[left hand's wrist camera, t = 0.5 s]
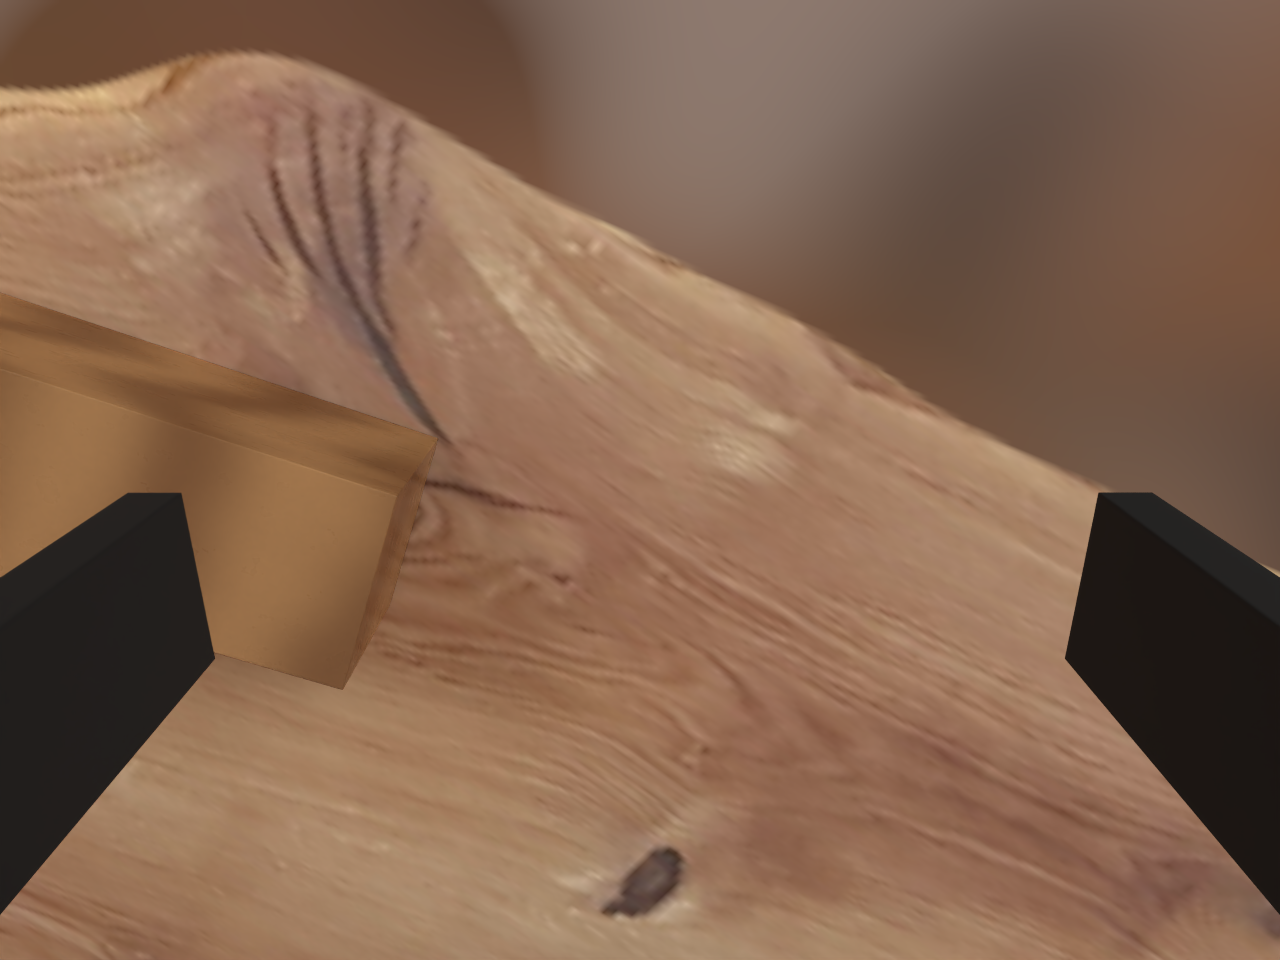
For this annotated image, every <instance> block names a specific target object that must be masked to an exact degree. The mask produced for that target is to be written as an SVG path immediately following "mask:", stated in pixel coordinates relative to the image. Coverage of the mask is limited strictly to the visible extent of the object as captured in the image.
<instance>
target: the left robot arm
mask: <svg viewBox="0 0 1280 960" xmlns="http://www.w3.org/2000/svg"><path fill="white" fill-rule="evenodd" d="M214 659H215V656H214V651H213V646H212V641H211V636H210V631H209V626H208V621H207V616H206V611H205V606H204V601H203V597H202V592H201V587H200V582H199V577H198V572H197V567H196V562H195V557H194V552H193V547H192V542H191V537H190V532H189V528H188V523H187V518H186V513H185V508H184V503H183V498H182V493H127V494H125V495H124V496H122V497H121V498H119V499H118V500H116V501H115V502H113V503H112V504H110V505H109V506H107V507H106V508H104V509H103V510H101V511H100V512H98V513H97V514H95V515H94V516H92V517H90V518H89V519H87V520H86V521H84V522H83V523H81V524H80V525H78V526H77V527H75V528H74V529H72V530H71V531H69V532H68V533H66V534H65V535H63V536H62V537H60V538H59V539H57V540H56V541H54V542H53V543H51V544H50V545H48V546H47V547H45V548H44V549H42V550H41V551H39V552H38V553H36V554H35V555H33V556H32V557H30V558H29V559H27V560H26V561H24V562H23V563H21V564H20V565H18V566H17V567H15V568H14V569H12V570H11V571H9V572H8V573H6V574H5V575H3V576H2V577H0V914H1V913H2V912H3V911H4V910H5V908H6V907H7V906H8V905H9V904H10V902H11V901H12V900H13V899H14V898H15V896H16V895H17V894H18V893H19V892H20V890H21V889H22V888H23V887H24V886H25V885H26V883H27V882H28V881H29V880H30V879H31V877H32V876H33V875H34V874H35V873H36V871H37V870H38V869H39V868H40V867H41V865H42V864H43V863H44V862H45V861H46V859H47V858H48V857H49V856H50V855H51V854H52V852H53V851H54V850H55V849H56V848H57V846H58V845H59V844H60V843H61V842H62V840H63V839H64V838H65V837H66V836H67V834H68V833H69V832H70V831H71V830H72V829H73V827H74V826H75V825H76V824H77V823H78V821H79V820H80V819H81V818H82V817H83V815H84V814H85V813H86V812H87V811H88V809H89V808H90V807H91V806H92V805H93V803H94V802H95V801H96V800H97V799H98V798H99V796H100V795H101V794H102V793H103V792H104V790H105V789H106V788H107V787H108V786H109V784H110V783H111V782H112V781H113V780H114V778H115V777H116V776H117V775H118V774H119V773H120V771H121V770H122V769H123V768H124V767H125V765H126V764H127V763H128V762H129V761H130V759H131V758H132V757H133V756H134V755H135V753H136V752H137V751H138V750H139V749H140V747H141V746H142V745H143V744H144V743H145V742H146V740H147V739H148V738H149V737H150V736H151V734H152V733H153V732H154V731H155V730H156V728H157V727H158V726H159V725H160V724H161V722H162V721H163V720H164V719H165V718H166V716H167V715H168V714H169V713H170V712H171V711H172V709H173V708H174V707H175V706H176V705H177V703H178V702H179V701H180V700H181V699H182V697H183V696H184V695H185V694H186V693H187V691H188V690H189V689H190V688H191V687H192V686H193V684H194V683H195V682H196V681H197V680H198V678H199V677H200V676H201V675H202V674H203V672H204V671H205V670H206V669H207V668H208V666H209V665H210V664H211V663H212V662H213V660H214ZM1065 659H1066V660H1067V662H1068V663H1069V664H1070V665H1071V666H1072V668H1073V669H1074V670H1075V671H1076V672H1077V674H1078V675H1079V676H1080V677H1081V678H1082V680H1083V681H1084V682H1085V683H1086V684H1087V686H1088V687H1089V688H1090V689H1091V690H1092V691H1093V693H1094V694H1095V695H1096V696H1097V697H1098V699H1099V700H1100V701H1101V702H1102V703H1103V705H1104V706H1105V707H1106V708H1107V709H1108V711H1109V712H1110V713H1111V714H1112V715H1113V716H1114V718H1115V719H1116V720H1117V721H1118V722H1119V724H1120V725H1121V726H1122V727H1123V728H1124V730H1125V731H1126V732H1127V733H1128V734H1129V736H1130V737H1131V738H1132V739H1133V740H1134V742H1135V743H1136V744H1137V745H1138V746H1139V747H1140V749H1141V750H1142V751H1143V752H1144V753H1145V755H1146V756H1147V757H1148V758H1149V759H1150V761H1151V762H1152V763H1153V764H1154V765H1155V767H1156V768H1157V769H1158V770H1159V771H1160V773H1161V774H1162V775H1163V776H1164V777H1165V778H1166V780H1167V781H1168V782H1169V783H1170V784H1171V786H1172V787H1173V788H1174V789H1175V790H1176V792H1177V793H1178V794H1179V795H1180V796H1181V798H1182V799H1183V800H1184V801H1185V802H1186V803H1187V805H1188V806H1189V807H1190V808H1191V809H1192V811H1193V812H1194V813H1195V814H1196V815H1197V817H1198V818H1199V819H1200V820H1201V821H1202V823H1203V824H1204V825H1205V826H1206V827H1207V829H1208V830H1209V831H1210V832H1211V833H1212V834H1213V836H1214V837H1215V838H1216V839H1217V840H1218V842H1219V843H1220V844H1221V845H1222V846H1223V848H1224V849H1225V850H1226V851H1227V852H1228V854H1229V855H1230V856H1231V857H1232V858H1233V860H1234V861H1235V862H1236V863H1237V864H1238V865H1239V867H1240V868H1241V869H1242V870H1243V871H1244V873H1245V874H1246V875H1247V876H1248V877H1249V879H1250V880H1251V881H1252V882H1253V883H1254V885H1255V886H1256V887H1257V888H1258V889H1259V890H1260V892H1261V893H1262V894H1263V895H1264V896H1265V898H1266V899H1267V900H1268V901H1269V902H1270V904H1271V905H1272V906H1273V907H1274V908H1275V910H1276V911H1277V912H1278V913H1279V914H1280V577H1278V576H1277V575H1275V574H1274V573H1272V572H1271V571H1269V570H1268V569H1266V568H1265V567H1263V566H1262V565H1260V564H1259V563H1257V562H1256V561H1254V560H1253V559H1251V558H1250V557H1248V556H1247V555H1245V554H1244V553H1242V552H1241V551H1239V550H1238V549H1236V548H1235V547H1233V546H1232V545H1230V544H1229V543H1227V542H1226V541H1224V540H1223V539H1221V538H1220V537H1218V536H1217V535H1215V534H1214V533H1212V532H1211V531H1209V530H1207V529H1206V528H1205V527H1203V526H1202V525H1200V524H1199V523H1197V522H1195V521H1194V520H1192V519H1191V518H1190V517H1188V516H1186V515H1185V514H1183V513H1182V512H1180V511H1179V510H1177V509H1176V508H1174V507H1173V506H1171V505H1170V504H1168V503H1167V502H1165V501H1164V500H1162V499H1161V498H1159V497H1158V496H1156V495H1155V494H1153V493H1098V498H1097V503H1096V508H1095V513H1094V518H1093V523H1092V528H1091V532H1090V537H1089V542H1088V547H1087V552H1086V557H1085V562H1084V567H1083V572H1082V577H1081V582H1080V587H1079V592H1078V597H1077V601H1076V606H1075V611H1074V616H1073V621H1072V626H1071V631H1070V636H1069V641H1068V646H1067V651H1066V656H1065Z"/></svg>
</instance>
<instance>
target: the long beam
mask: <svg viewBox="0 0 1280 960" xmlns="http://www.w3.org/2000/svg"><path fill="white" fill-rule="evenodd" d="M437 441H438V438H435V437H432V436H429V435H426V434H423V433H420V432H417V431H414V430H411V429H408V428H405V427H402V426H399V425H396V424H393V423H390V422H387V421H384V420H381V419H378V418H375V417H372V416H369V415H366V414H363V413H360V412H357V411H354V410H351V409H348V408H345V407H342V406H339V405H336V404H333V403H330V402H327V401H324V400H321V399H318V398H315V397H312V396H309V395H306V394H303V393H300V392H297V391H294V390H291V389H288V388H285V387H282V386H279V385H276V384H273V383H270V382H267V381H264V380H261V379H258V378H255V377H252V376H249V375H246V374H243V373H240V372H237V371H234V370H231V369H228V368H225V367H222V366H219V365H216V364H213V363H210V362H207V361H204V360H201V359H198V358H195V357H192V356H189V355H186V354H183V353H180V352H177V351H174V350H171V349H168V348H165V347H162V346H159V345H156V344H153V343H150V342H147V341H144V340H141V339H138V338H135V337H132V336H129V335H126V334H123V333H120V332H117V331H114V330H110V329H107V328H104V327H101V326H98V325H95V324H92V323H89V322H86V321H83V320H80V319H77V318H74V317H71V316H68V315H65V314H62V313H59V312H56V311H53V310H50V309H47V308H44V307H41V306H38V305H35V304H32V303H29V302H26V301H23V300H20V299H17V298H14V297H11V296H8V295H5V294H2V293H0V577H2V576H3V575H5V574H6V573H8V572H9V571H11V570H12V569H14V568H15V567H17V566H18V565H20V564H21V563H23V562H24V561H26V560H27V559H29V558H30V557H32V556H33V555H35V554H36V553H38V552H39V551H41V550H42V549H44V548H45V547H47V546H48V545H50V544H51V543H53V542H54V541H56V540H57V539H59V538H60V537H62V536H63V535H65V534H66V533H68V532H69V531H71V530H72V529H74V528H75V527H77V526H78V525H80V524H81V523H83V522H84V521H86V520H87V519H89V518H90V517H92V516H94V515H95V514H97V513H98V512H100V511H101V510H103V509H104V508H106V507H107V506H109V505H110V504H112V503H113V502H115V501H116V500H118V499H119V498H121V497H122V496H124V495H125V494H127V493H182V498H183V503H184V508H185V513H186V518H187V523H188V528H189V532H190V537H191V542H192V547H193V552H194V557H195V562H196V567H197V572H198V577H199V582H200V587H201V592H202V597H203V601H204V606H205V611H206V616H207V621H208V626H209V631H210V636H211V641H212V646H213V651H214V652H215V653H218V654H222V655H225V656H228V657H232V658H235V659H239V660H242V661H245V662H249V663H252V664H256V665H259V666H263V667H266V668H269V669H273V670H276V671H280V672H283V673H286V674H290V675H293V676H297V677H300V678H304V679H307V680H310V681H314V682H317V683H321V684H324V685H327V686H331V687H334V688H338V689H341V690H343V689H344V687H345V685H346V683H347V681H348V680H349V678H350V676H351V674H352V672H353V671H354V669H355V667H356V665H357V663H358V662H359V660H360V658H361V656H362V654H363V653H364V651H365V649H366V647H367V645H368V644H369V642H370V640H371V638H372V636H373V635H374V633H375V631H376V629H377V627H378V626H379V624H380V622H381V620H382V618H383V616H384V615H385V613H386V611H387V609H388V607H389V606H390V602H391V599H392V596H393V592H394V589H395V585H396V582H397V578H398V575H399V572H400V568H401V565H402V561H403V558H404V554H405V551H406V548H407V544H408V541H409V537H410V534H411V530H412V527H413V523H414V520H415V517H416V513H417V510H418V506H419V503H420V499H421V496H422V493H423V489H424V486H425V482H426V479H427V475H428V472H429V468H430V465H431V462H432V458H433V455H434V451H435V448H436V444H437Z"/></svg>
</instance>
